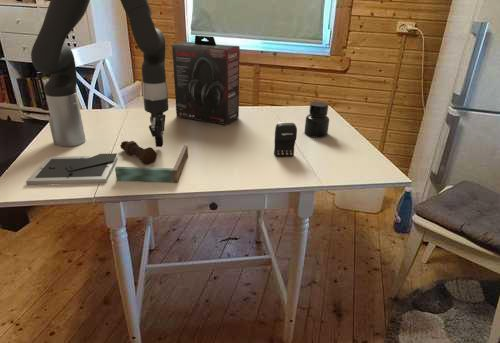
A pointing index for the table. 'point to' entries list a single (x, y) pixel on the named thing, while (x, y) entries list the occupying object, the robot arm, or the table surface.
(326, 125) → the ink bottle
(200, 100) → the headset box
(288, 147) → the battery charger
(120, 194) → the table surface
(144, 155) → the bolt
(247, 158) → the table surface
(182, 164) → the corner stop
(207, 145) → the table surface
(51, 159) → the picture frame
